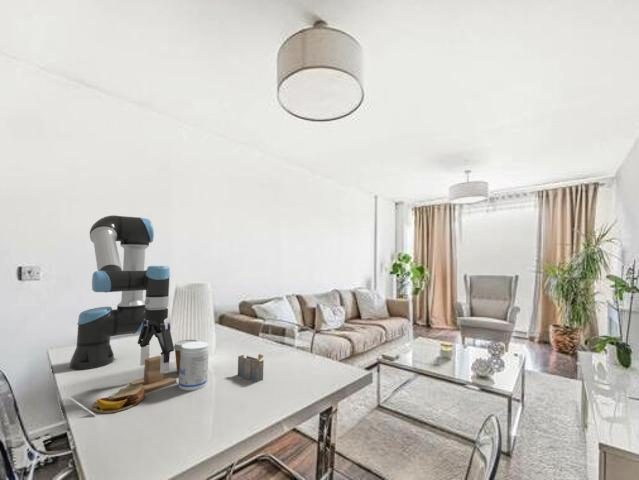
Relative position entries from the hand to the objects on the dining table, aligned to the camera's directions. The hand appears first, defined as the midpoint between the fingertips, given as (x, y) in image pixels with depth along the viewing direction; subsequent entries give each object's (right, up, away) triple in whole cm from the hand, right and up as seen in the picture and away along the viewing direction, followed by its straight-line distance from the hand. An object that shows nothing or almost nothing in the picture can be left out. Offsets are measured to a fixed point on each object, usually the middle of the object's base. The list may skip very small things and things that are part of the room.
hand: (154, 368), depth 111 cm
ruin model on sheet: (+33, -8, +9) cm, 35 cm away
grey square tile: (0, -6, 0) cm, 6 cm away
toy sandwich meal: (-3, -6, -15) cm, 16 cm away
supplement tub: (+14, -7, 0) cm, 16 cm away
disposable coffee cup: (+6, -7, +12) cm, 16 cm away
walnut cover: (0, -6, 0) cm, 6 cm away
